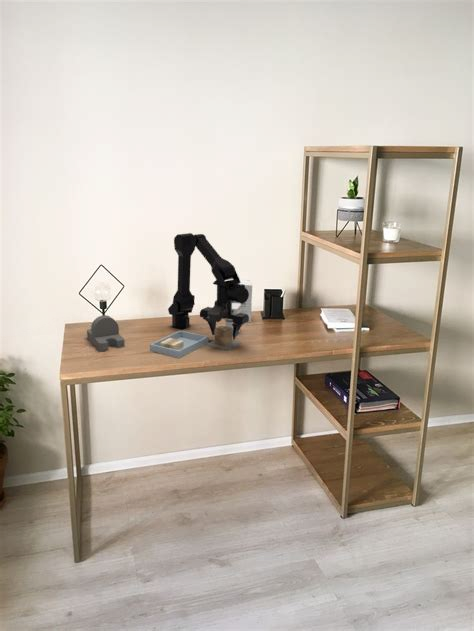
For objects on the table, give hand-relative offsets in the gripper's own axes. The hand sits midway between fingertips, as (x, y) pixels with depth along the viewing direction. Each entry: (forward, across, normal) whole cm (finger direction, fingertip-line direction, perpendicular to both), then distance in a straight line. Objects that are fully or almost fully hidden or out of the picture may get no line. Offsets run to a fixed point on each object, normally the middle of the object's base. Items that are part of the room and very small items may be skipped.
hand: (223, 336), depth 214 cm
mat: (+3, 0, 0) cm, 3 cm away
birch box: (+3, -12, -17) cm, 21 cm away
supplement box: (+3, -11, +32) cm, 34 cm away
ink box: (+3, -4, +14) cm, 15 cm away
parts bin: (+3, -12, -12) cm, 17 cm away
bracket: (+4, -39, -23) cm, 46 cm away
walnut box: (+3, 0, 0) cm, 3 cm away
